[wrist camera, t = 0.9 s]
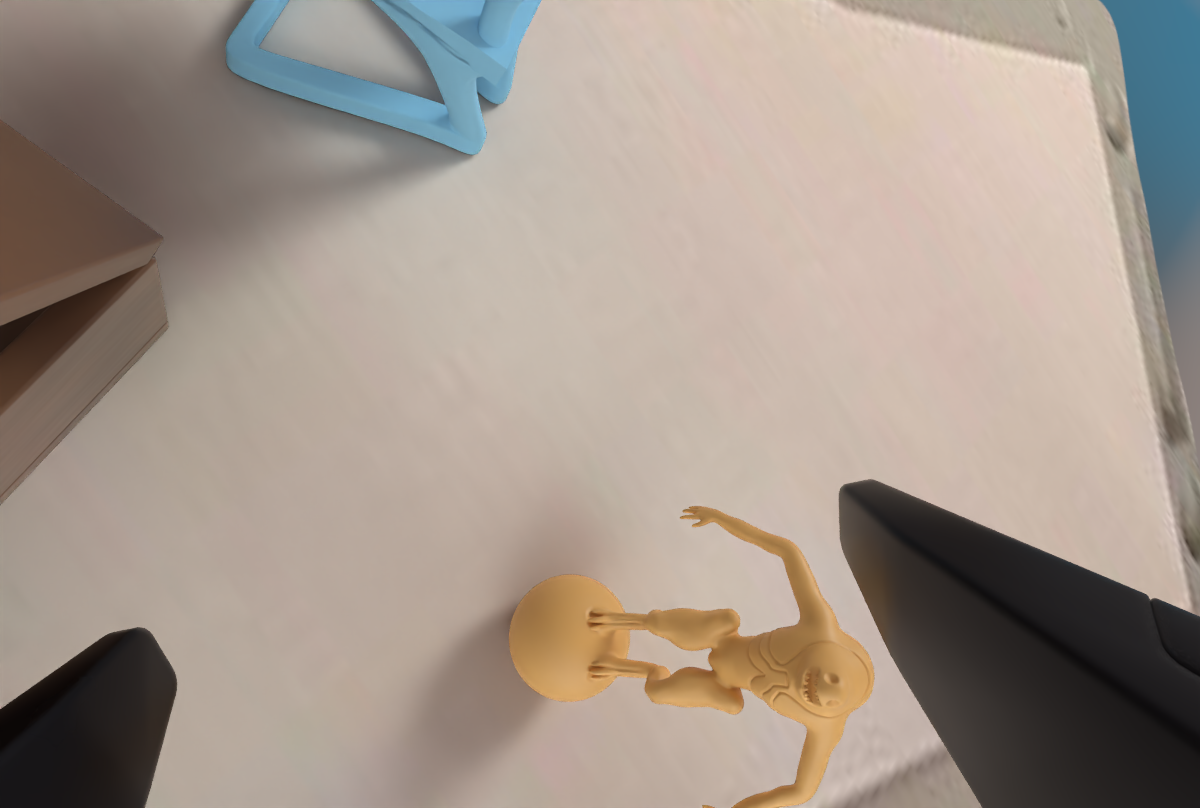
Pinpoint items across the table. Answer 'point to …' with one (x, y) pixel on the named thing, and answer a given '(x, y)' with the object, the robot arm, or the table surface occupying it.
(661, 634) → the figurine
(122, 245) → the lid
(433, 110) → the chair
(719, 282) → the table surface
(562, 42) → the table surface
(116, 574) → the table surface
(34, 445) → the chest
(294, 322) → the table surface
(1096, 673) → the robot arm
